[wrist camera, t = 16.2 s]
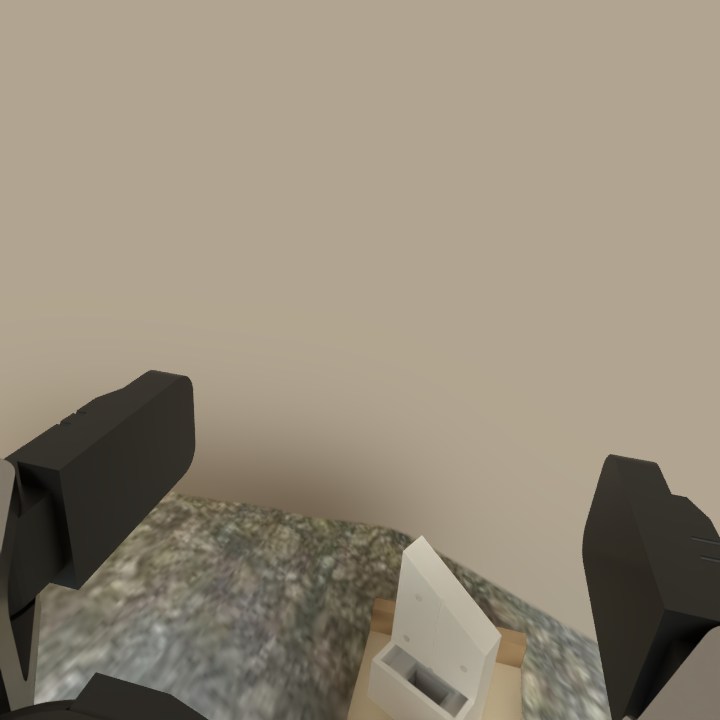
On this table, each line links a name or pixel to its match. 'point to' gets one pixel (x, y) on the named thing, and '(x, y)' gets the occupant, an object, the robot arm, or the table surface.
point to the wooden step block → (505, 683)
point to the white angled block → (434, 646)
